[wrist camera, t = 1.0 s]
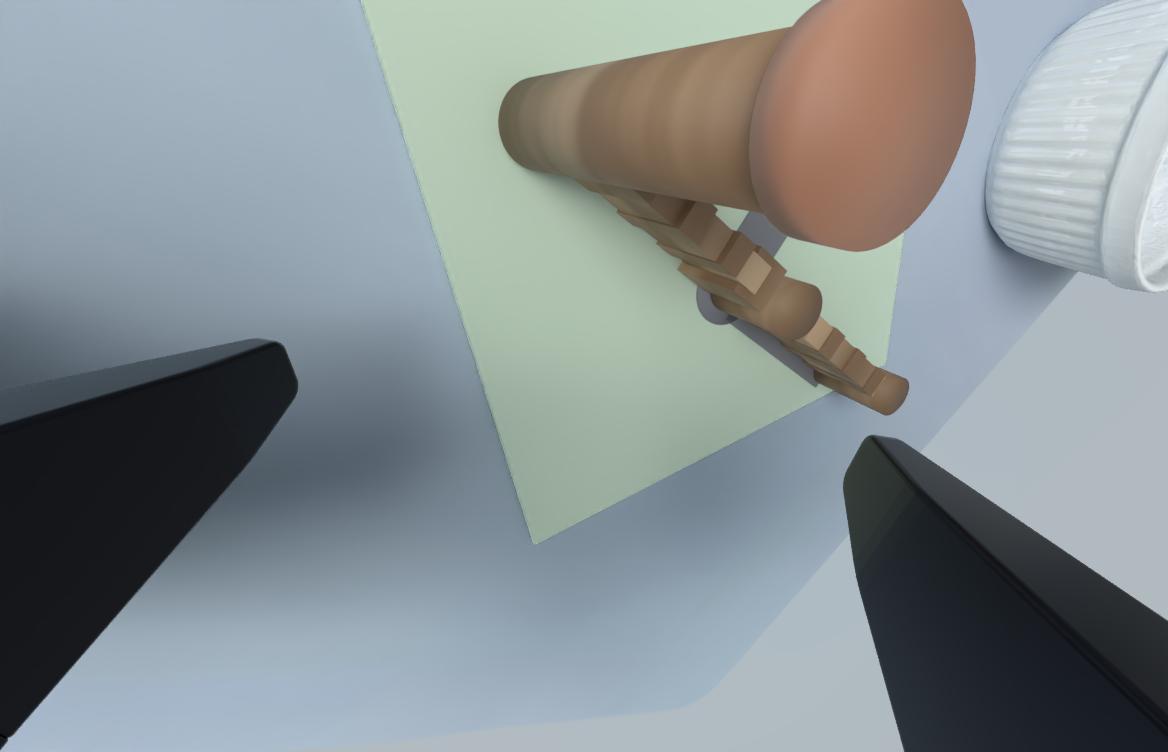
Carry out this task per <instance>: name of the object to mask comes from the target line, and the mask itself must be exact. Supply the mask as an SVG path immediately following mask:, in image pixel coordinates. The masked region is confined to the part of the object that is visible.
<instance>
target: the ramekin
mask: <svg viewBox="0 0 1168 752" xmlns="http://www.w3.org/2000/svg"><path fill="white" fill-rule="evenodd" d="M985 201H986V211H987V215H988V219H989V221H990V224H991V226H992V227H993V229H994V230H995V232H996V233H997V234H998V235H999V237H1000V238H1001V239H1002V240H1003V242H1004V243H1005V244H1006V245H1007V246H1008V247H1010V248H1012V249H1013V250H1015V251H1016V252H1018V253H1021V254H1023V255H1026V256H1029V257H1032V258H1035V259H1038V260H1041V261H1045V262H1048V263H1051V264H1055V265H1058V266H1061V267H1065V268H1068V269H1072V270H1075V271H1079V272H1083V273H1086V274H1090V275H1094V276H1097V277H1101V278H1105V279H1108V281H1110V282H1111V283H1112V284H1113V285H1115V286H1117V287H1120V288H1124V289H1130V290H1137V291H1143V292H1150V293H1151V292H1152V293H1156V292H1163V291H1165V290H1168V0H1120V1H1117V2H1114V3H1112V4H1109V5H1106V6H1104V7H1101V8H1099V9H1097V10H1095V11H1093V12H1091V13H1089V14H1088V15H1086V16H1085V17H1083V18H1082V19H1080V20H1078V21H1077V22H1076V23H1074V24H1073V25H1072V26H1071V27H1069V28H1068V29H1067V30H1066V31H1064V32H1063V33H1062V34H1060V35H1059V36H1058V37H1057V38H1055V39H1054V40H1053V41H1052V42H1051V43H1050V44H1049V45H1048V46H1047V47H1046V48H1045V49H1044V50H1043V51H1042V52H1041V54H1040V55H1039V56H1038V57H1037V59H1036V60H1035V61H1034V62H1033V64H1032V65H1031V67H1030V68H1029V70H1028V71H1027V73H1026V74H1025V76H1024V77H1023V79H1022V80H1021V82H1020V84H1019V85H1018V87H1017V89H1016V91H1015V93H1014V95H1013V96H1012V98H1011V100H1010V103H1009V105H1008V107H1007V109H1006V111H1005V113H1004V116H1003V118H1002V121H1001V123H1000V126H999V128H998V131H997V134H996V137H995V140H994V143H993V147H992V151H991V155H990V159H989V164H988V169H987V176H986V186H985Z"/></svg>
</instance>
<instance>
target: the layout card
mask: <svg viewBox="0 0 1168 752" xmlns="http://www.w3.org/2000/svg"><path fill="white" fill-rule="evenodd" d="M819 1H821V0H360V2H361V5H362V8H363V11H364V14H365V17H366V21H367V24H368V27H369V30H370V33H371V36H372V39H373V43H374V46H375V49H376V52H377V55H378V58H379V61H380V65H381V68H382V71H383V74H384V77H385V80H386V83H387V87H388V90H389V93H390V96H391V99H392V102H393V105H394V109H395V112H396V115H397V118H398V121H399V124H400V127H401V131H402V134H403V137H404V140H405V143H406V146H407V149H408V153H409V156H410V159H411V162H412V165H413V168H414V171H415V175H416V178H417V181H418V184H419V187H420V190H421V193H422V197H423V200H424V203H425V206H426V209H427V212H428V215H429V219H430V222H431V225H432V228H433V231H434V234H435V237H436V241H437V244H438V247H439V250H440V253H441V256H442V259H443V263H444V266H445V269H446V272H447V275H448V278H449V281H450V285H451V288H452V291H453V294H454V297H455V300H456V303H457V307H458V310H459V313H460V316H461V319H462V322H463V325H464V329H465V332H466V335H467V338H468V341H469V344H470V347H471V351H472V354H473V357H474V360H475V363H476V366H477V369H478V373H479V376H480V379H481V382H482V385H483V388H484V391H485V395H486V398H487V401H488V404H489V407H490V410H491V413H492V417H493V420H494V423H495V426H496V429H497V432H498V435H499V439H500V442H501V445H502V448H503V451H504V454H505V457H506V461H507V464H508V467H509V470H510V473H511V476H512V479H513V483H514V486H515V489H516V492H517V495H518V498H519V501H520V505H521V508H522V511H523V514H524V517H525V520H526V523H527V527H528V530H529V533H530V536H531V539H532V542H533V543H534V545H536V544H538V543H540V542H542V541H544V540H546V539H548V538H550V537H552V536H554V535H556V534H558V533H560V532H561V531H563V530H565V529H567V528H569V527H571V526H573V525H575V524H577V523H579V522H581V521H583V520H585V519H587V518H589V517H590V516H592V515H594V514H596V513H598V512H600V511H602V510H604V509H606V508H608V507H610V506H612V505H614V504H616V503H618V502H620V501H621V500H623V499H625V498H627V497H629V496H631V495H633V494H635V493H637V492H639V491H641V490H643V489H645V488H647V487H649V486H651V485H652V484H654V483H656V482H658V481H660V480H662V479H664V478H666V477H668V476H670V475H672V474H674V473H676V472H678V471H680V470H682V469H683V468H685V467H687V466H689V465H691V464H693V463H695V462H697V461H699V460H701V459H703V458H705V457H707V456H709V455H711V454H712V453H714V452H716V451H718V450H720V449H722V448H724V447H726V446H728V445H730V444H732V443H734V442H736V441H738V440H740V439H742V438H743V437H745V436H747V435H749V434H751V433H753V432H755V431H757V430H759V429H761V428H763V427H765V426H767V425H769V424H771V423H773V422H774V421H776V420H778V419H780V418H782V417H784V416H786V415H788V414H790V413H792V412H794V411H796V410H798V409H800V408H802V407H803V406H805V405H807V404H809V403H811V402H813V401H815V400H817V399H819V398H821V397H823V396H825V395H827V394H829V393H831V392H833V391H834V390H832V389H830V388H828V387H826V386H824V385H822V384H820V383H818V382H816V381H815V379H814V369H812V368H810V367H809V366H807V365H806V364H805V363H804V362H802V361H803V358H802V357H801V356H799V355H796V354H794V353H792V352H790V351H788V350H787V349H786V348H785V347H783V346H782V345H781V343H782V341H781V340H779V339H778V338H776V337H774V336H771V335H769V334H767V333H766V332H764V331H763V330H762V329H761V328H759V327H758V326H755V325H753V324H751V323H749V322H746V321H744V320H742V319H739V318H737V317H735V316H732V315H730V314H728V313H725V312H723V311H721V310H718V309H717V308H716V307H715V306H714V305H713V303H712V301H711V297H710V292H707V291H705V290H703V289H702V288H700V287H699V286H698V285H696V284H695V283H694V282H693V281H691V280H690V279H689V278H687V277H686V276H685V275H684V274H682V273H681V272H680V271H678V270H677V269H678V268H679V266H680V264H681V263H682V260H681V259H680V258H677V257H674V256H671V255H670V254H668V253H667V252H666V251H665V250H663V249H662V248H661V247H659V246H658V245H657V244H656V243H657V242H658V241H657V240H656V239H655V238H654V237H652V236H651V235H650V234H649V233H647V232H646V231H645V230H644V229H642V228H640V227H637V226H633V225H632V224H631V223H629V222H628V221H627V220H625V219H624V218H623V217H622V216H620V215H619V214H618V213H617V210H618V209H617V208H616V207H615V206H614V205H612V204H611V203H610V202H609V201H607V200H606V199H605V198H604V197H602V196H601V195H600V194H599V193H596V192H591V191H589V190H588V189H586V188H585V187H584V186H583V185H581V184H580V183H579V182H578V181H576V180H575V179H574V178H571V177H566V176H560V175H555V174H550V173H544V172H539V171H534V170H530V169H527V168H524V167H522V166H521V165H519V164H518V163H516V162H515V161H514V160H513V159H512V158H511V157H510V156H509V154H508V153H507V151H506V150H505V148H504V146H503V144H502V141H501V138H500V134H499V128H498V116H499V110H500V106H501V103H502V101H503V99H504V97H505V95H506V94H507V92H508V91H509V90H510V88H511V87H512V86H514V85H515V84H516V83H517V82H519V81H521V80H523V79H525V78H529V77H534V76H539V75H544V74H550V73H555V72H560V71H565V70H570V69H575V68H580V67H586V66H591V65H596V64H601V63H606V62H611V61H617V60H622V59H627V58H632V57H637V56H642V55H647V54H653V53H658V52H663V51H668V50H673V49H678V48H684V47H689V46H694V45H699V44H704V43H709V42H714V41H720V40H725V39H730V38H735V37H740V36H745V35H750V34H756V33H761V32H766V31H771V30H776V29H781V28H787V27H792V26H793V25H794V24H795V22H796V21H797V20H798V19H799V18H800V17H801V16H802V15H803V14H804V13H805V12H806V11H807V10H808V9H810V8H811V7H812V6H813V5H815V4H816V3H818V2H819ZM713 205H714V204H713ZM714 206H715V207H716V208H717V209H718V211H717V212H716V214H715V215H716V216H718V217H719V218H720V219H721V220H722V221H723V222H724V223H725V224H726V225H727V226H728V227H729V228H730V229H731V230H735V231H739V232H742V233H743V234H744V235H745V236H746V237H747V238H749V239H750V240H751V241H752V242H753V243H754V244H755V245H758V246H762V247H763V248H764V249H765V250H766V251H767V252H768V253H769V254H770V255H771V256H772V257H773V258H774V259H775V260H776V261H778V262H779V263H780V264H781V265H782V266H783V267H784V268H785V269H786V270H787V272H786V274H785V275H784V276H786V277H789V278H793V279H796V280H799V281H802V282H806V283H809V284H812V285H815V286H816V287H818V288H819V290H820V292H821V294H822V310H821V313H820V316H821V317H822V318H823V319H824V320H825V321H826V322H827V323H828V324H830V325H831V326H833V327H835V328H837V329H838V330H839V331H840V332H841V333H842V334H844V335H845V336H846V337H845V339H846V340H847V341H848V342H849V343H850V344H851V345H852V346H853V347H855V348H858V349H859V350H860V351H862V352H863V353H864V354H865V355H866V356H867V357H866V359H867V360H868V361H869V362H870V363H871V364H872V365H873V366H876V367H878V368H879V367H881V366H883V365H885V364H886V358H887V351H888V344H889V337H890V329H891V322H892V315H893V308H894V301H895V294H896V287H897V280H898V272H899V265H900V258H901V251H902V244H903V237H904V232H903V233H901V234H900V235H899V236H898V237H896V238H895V239H893V240H892V241H890V242H889V243H887V244H885V245H883V246H880V247H878V248H876V249H872V250H869V251H862V252H852V251H845V250H840V249H836V248H832V247H827V246H823V245H818V244H814V243H810V242H805V241H801V240H797V239H794V238H791V237H788V236H786V235H785V234H783V233H781V232H780V231H779V230H778V229H776V228H775V227H774V226H773V225H772V224H771V222H770V221H769V220H768V219H767V218H766V216H765V214H762V213H757V212H751V211H746V210H741V209H735V208H730V207H725V206H719V205H714Z"/></svg>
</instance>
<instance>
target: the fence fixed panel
mask: <svg viewBox="0 0 1168 752" xmlns="http://www.w3.org/2000/svg"><path fill="white" fill-rule="evenodd" d="M710 297H711V301H712V303H713V305H714V306H715V307H716V308H717V309H718V310H721V311H723V312H725V313H728V314H730V315H732V316H735V317H737V318H739V319H742V320H744V321H746V322H749V323H751V324H753V325H755V326H758V327H759V328H761V329H762V330H763V331H764V332H766V333H767V334H769V335H771V336H774V337H776V338H778V339H779V340H781V341H782V343H781V345H782V346H783V347H785V348H786V349H787V350H788V351H790V352H792V353H794V354H796V355H799V356H801V357H802V358H803V361H802V362H804V363H805V364H806V365H807V366H809V367H810V368H812V369H814V379H815V381H816V382H818V383H820V384H822V385H824V386H826V387H828V388H830V389H832V390H834V391H836V392H838V393H840V394H842V395H844V396H846V397H848V398H850V399H852V400H854V401H856V402H858V403H860V404H863V405H865V406H867V407H869V408H871V409H873V410H875V411H877V412H879V413H881V414H883V415H890V414H892V413H894V412H895V411H896V410H897V409H898V408H899V407H900V406H901V405H902V404H903V402H904V400H905V398H906V396H907V394H908V390H909V383H908V381H907V379H905V378H903V377H900V376H898V375H895V374H893V373H890V372H888V371H886V370H883V369H881V368H878V367H876V366H873V365H872V364H871V363H870V362H869V361H868V360H867V359H866V357H867V356H866V355H865V354H864V353H863V352H862V351H860V350H859V349H858V348H855V347H853V346H852V345H851V344H850V343H849V342H848V341H847V340H846V339H845V337H846V336H845V335H844V334H842V333H841V332H840V331H839V330H838V329H837V328H835V327H833V326H831V325H830V324H828V323H827V322H826V321H825V320H824V319H823V318H822V317H821V316H820V313H821V310H822V294H821V292H820V290H819V288H818V287H816V286H815V285H812V284H809V283H806V282H802V281H799V280H796V279H793V278H789V277H786V276H784V277H783V279H782V280H781V282H780V283H779V285H778V286H777V288H776V289H775V291H774V293H773V294H772V296H771V297H770V299H769V300H768V302H767V303H766V305H765V306H764V308H763V310H762V311H761V313H760V312H758V311H755V310H753V309H750V308H748V307H745V306H743V305H740V304H738V303H735V302H733V301H730V300H728V299H725V298H722V297H720V296H717V295H715V294H712V293H710Z"/></svg>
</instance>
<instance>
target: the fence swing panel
mask: <svg viewBox="0 0 1168 752" xmlns="http://www.w3.org/2000/svg"><path fill="white" fill-rule="evenodd" d="M975 67H976V56H975V43H974V36H973V31H972V26H971V23H970V19H969V16H968V13H967V11H966V9H965V6H964V4H963V2H962V0H821V1H819V2H818V3H816V4H815V5H813V6H812V7H811V8H810V9H808V10H807V11H806V12H805V13H804V14H803V15H802V16H801V17H800V18H799V19H798V20H797V21H796V22H795V24H794V25H793V26H792V27H787V28H781V29H776V30H771V31H766V32H761V33H756V34H750V35H745V36H740V37H735V38H730V39H725V40H720V41H714V42H709V43H704V44H699V45H694V46H689V47H684V48H678V49H673V50H668V51H663V52H658V53H653V54H647V55H642V56H637V57H632V58H627V59H622V60H617V61H611V62H606V63H601V64H596V65H591V66H586V67H580V68H575V69H570V70H565V71H560V72H555V73H550V74H544V75H539V76H534V77H529V78H525V79H523V80H521V81H519V82H517V83H516V84H515V85H514V86H512V87H511V88H510V90H509V91H508V92H507V94H506V95H505V97H504V99H503V101H502V103H501V106H500V110H499V116H498V128H499V134H500V138H501V141H502V144H503V146H504V148H505V150H506V151H507V153H508V154H509V156H510V157H511V158H512V159H513V160H514V161H515V162H516V163H518V164H519V165H521V166H522V167H524V168H527V169H530V170H534V171H539V172H544V173H550V174H555V175H560V176H566V177H571V178H574V179H575V180H576V181H578V182H579V183H580V184H581V185H583V186H584V187H585V188H586V189H588V190H589V191H591V192H596V193H599V194H600V195H601V196H602V197H604V198H605V199H606V200H607V201H609V202H610V203H611V204H612V205H614V206H615V207H616V208H617V209H618V210H617V213H618V214H619V215H620V216H622V217H623V218H624V219H625V220H627V221H628V222H629V223H631V224H632V225H633V226H637V227H640V228H642V229H644V230H645V231H646V232H647V233H649V234H650V235H651V236H652V237H654V238H655V239H656V240H657V241H658V242H657V243H656V244H657V245H658V246H659V247H661V248H662V249H663V250H665V251H666V252H667V253H668V254H670V255H671V256H674V257H677V258H680V259H681V260H682V263H681V264H680V266H679V268H678V269H677V270H678V271H680V272H681V273H682V274H684V275H685V276H686V277H687V278H689V279H690V280H691V281H693V282H694V283H695V284H696V285H698V286H699V287H700V288H702V289H703V290H705V291H707V292H710V293H712V294H715V295H717V296H720V297H722V298H725V299H728V300H730V301H733V302H735V303H738V304H740V305H743V306H745V307H748V308H750V309H753V310H755V311H758V312H760V313H761V311H762V310H763V308H764V306H765V305H766V303H767V302H768V300H769V299H770V297H771V296H772V294H773V293H774V291H775V289H776V288H777V286H778V285H779V283H780V282H781V280H782V279H783V277H784V275H785V274H786V272H787V270H786V269H785V268H784V267H783V266H782V265H781V264H780V263H779V262H778V261H776V260H775V259H774V258H773V257H772V256H771V255H770V254H769V253H768V252H767V251H766V250H765V249H764V248H763V247H762V246H758V245H755V244H754V243H753V242H752V241H751V240H750V239H749V238H747V237H746V236H745V235H744V234H743V233H742V232H739V231H735V230H731V229H730V228H729V227H728V226H727V225H726V224H725V223H724V222H723V221H722V220H721V219H720V218H719V217H718V216H716V215H715V214H716V212H717V211H718V209H717V208H716V207H715V206H714V205H719V206H725V207H730V208H735V209H741V210H746V211H751V212H757V213H762V214H765V216H766V218H767V219H768V220H769V221H770V222H771V224H772V225H773V226H774V227H775V228H776V229H778V230H779V231H780V232H781V233H783V234H785V235H786V236H788V237H791V238H794V239H797V240H801V241H805V242H810V243H814V244H818V245H823V246H827V247H832V248H836V249H840V250H845V251H852V252H862V251H869V250H872V249H876V248H878V247H880V246H883V245H885V244H887V243H889V242H890V241H892V240H893V239H895V238H896V237H898V236H899V235H900V234H901V233H903V232H904V231H905V230H906V229H908V228H909V227H910V226H911V225H912V224H913V223H914V222H915V221H916V220H917V218H918V217H919V216H920V215H921V214H922V213H923V211H924V210H925V209H926V208H927V206H928V205H929V204H930V202H931V201H932V199H933V198H934V197H935V195H936V193H937V192H938V190H939V189H940V187H941V185H942V184H943V182H944V180H945V178H946V176H947V174H948V172H949V171H950V168H951V166H952V164H953V162H954V160H955V157H956V155H957V152H958V150H959V147H960V144H961V142H962V139H963V136H964V132H965V129H966V126H967V122H968V118H969V114H970V110H971V105H972V99H973V92H974V84H975ZM713 204H714V205H713Z"/></svg>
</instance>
